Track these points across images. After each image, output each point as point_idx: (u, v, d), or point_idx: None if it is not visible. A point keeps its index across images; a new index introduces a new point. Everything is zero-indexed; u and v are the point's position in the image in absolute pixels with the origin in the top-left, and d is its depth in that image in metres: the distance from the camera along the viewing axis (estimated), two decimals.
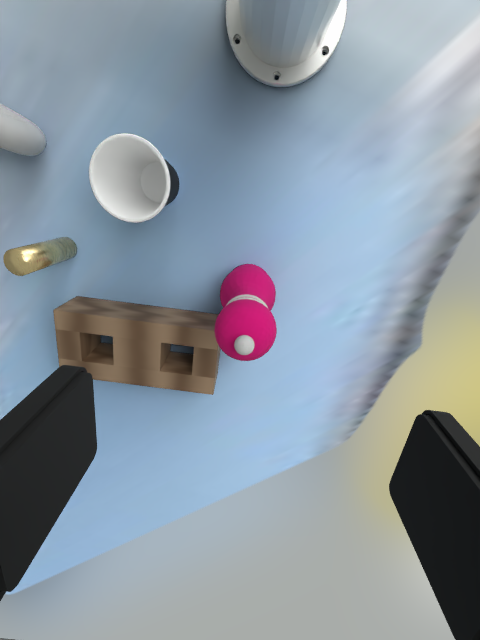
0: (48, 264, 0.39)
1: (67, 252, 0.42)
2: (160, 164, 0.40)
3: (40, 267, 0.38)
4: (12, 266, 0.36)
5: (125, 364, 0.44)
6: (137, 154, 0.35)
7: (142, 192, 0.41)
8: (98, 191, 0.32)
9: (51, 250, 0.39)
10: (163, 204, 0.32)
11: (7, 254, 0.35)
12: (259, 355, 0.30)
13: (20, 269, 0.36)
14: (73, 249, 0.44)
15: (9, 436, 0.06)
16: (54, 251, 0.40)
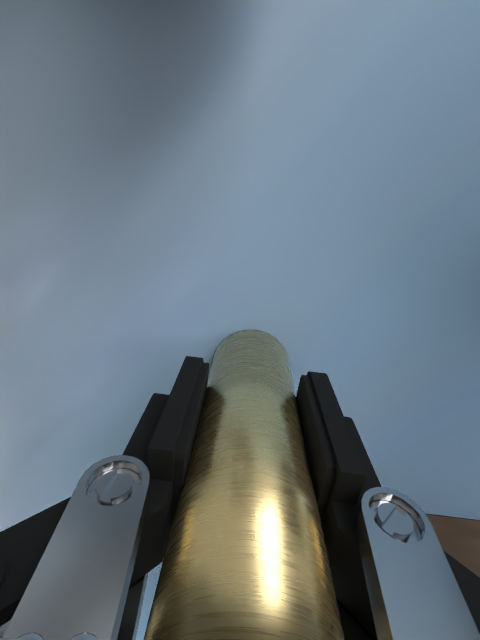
0: None
1: None
2: None
3: None
4: None
5: None
6: None
7: None
8: None
9: (308, 465, 0.07)
10: None
11: None
12: None
13: None
14: None
15: (181, 413, 0.07)
16: (307, 456, 0.08)
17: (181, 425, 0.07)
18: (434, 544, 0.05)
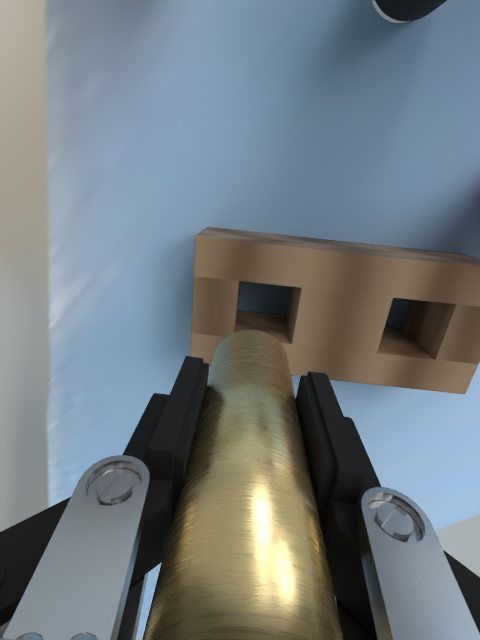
0: None
1: None
2: None
3: None
4: None
5: (314, 341, 0.24)
6: None
7: None
8: None
9: (307, 465, 0.07)
10: None
11: None
12: None
13: None
14: None
15: (181, 413, 0.07)
16: (306, 455, 0.08)
17: (181, 425, 0.07)
18: (434, 544, 0.05)
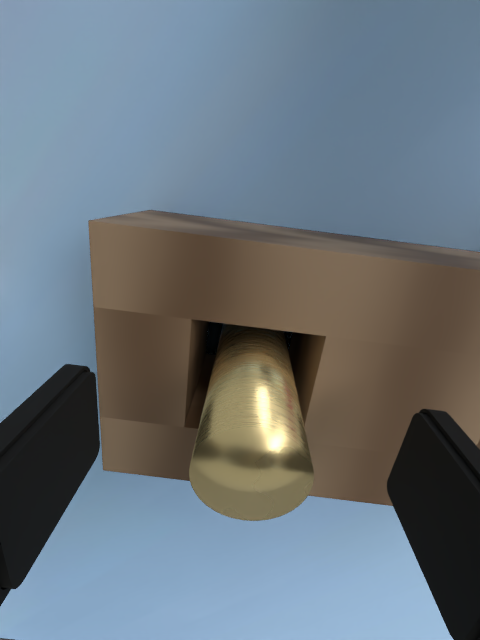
0: None
1: None
2: None
3: None
4: (223, 489, 0.08)
5: (345, 439, 0.12)
6: None
7: None
8: None
9: (290, 365, 0.12)
10: None
11: (215, 448, 0.07)
12: None
13: (258, 501, 0.08)
14: None
15: (14, 435, 0.06)
16: None
17: (0, 452, 0.06)
18: None
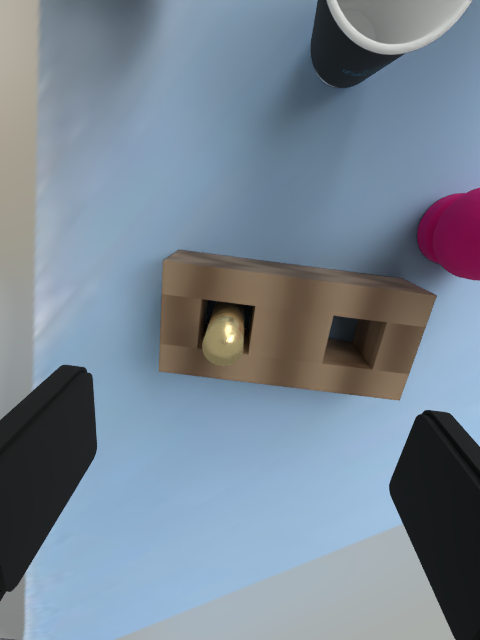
0: None
1: (244, 315, 0.30)
2: (352, 13, 0.24)
3: None
4: (213, 353, 0.23)
5: (267, 352, 0.28)
6: None
7: (315, 64, 0.25)
8: None
9: (242, 319, 0.27)
10: (464, 8, 0.15)
11: (211, 336, 0.23)
12: None
13: (225, 357, 0.23)
14: None
15: (9, 436, 0.06)
16: (243, 319, 0.28)
17: None
18: None
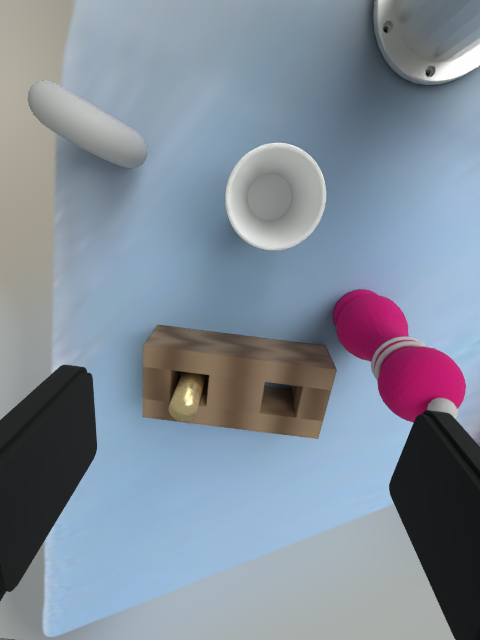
0: None
1: None
2: (273, 176, 0.34)
3: None
4: (176, 413, 0.34)
5: (220, 405, 0.38)
6: (263, 166, 0.29)
7: (249, 208, 0.35)
8: (232, 213, 0.26)
9: (201, 382, 0.38)
10: (313, 229, 0.26)
11: (174, 403, 0.34)
12: None
13: (185, 416, 0.34)
14: None
15: (9, 436, 0.06)
16: (202, 382, 0.38)
17: None
18: None
